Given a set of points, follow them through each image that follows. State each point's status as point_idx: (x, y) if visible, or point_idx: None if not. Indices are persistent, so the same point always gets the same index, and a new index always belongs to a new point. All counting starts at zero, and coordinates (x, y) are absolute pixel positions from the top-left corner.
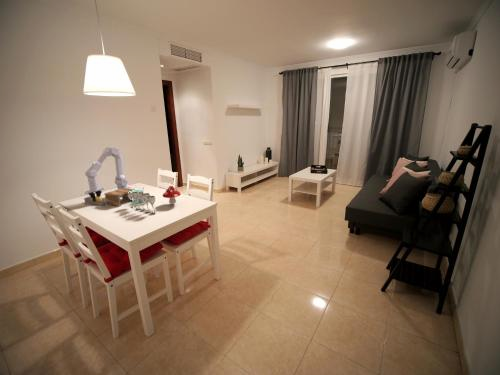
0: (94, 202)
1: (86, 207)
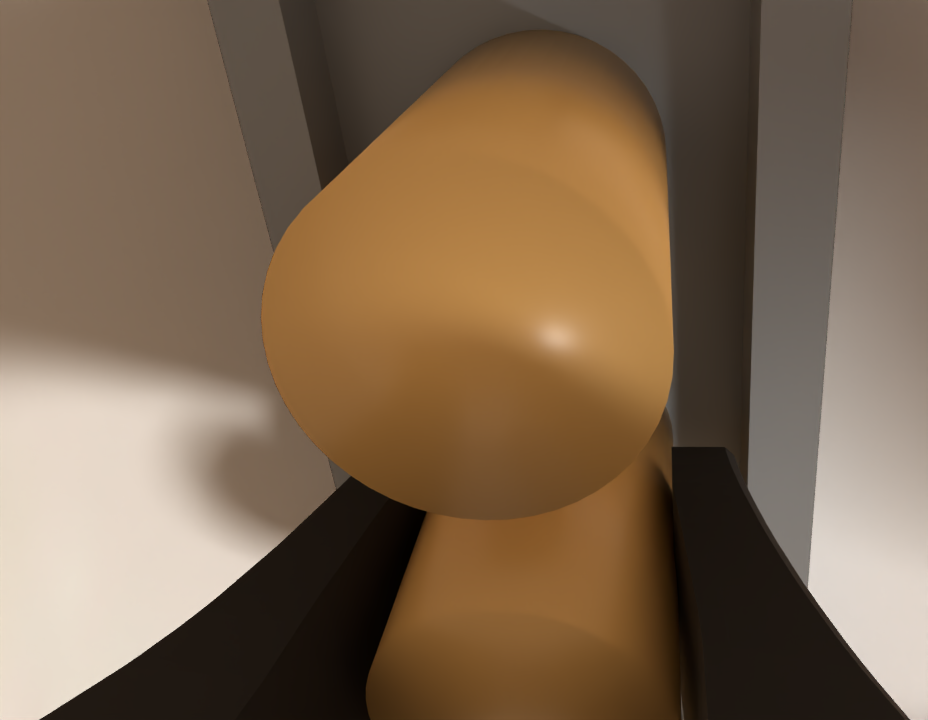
0: None
1: (59, 460)
